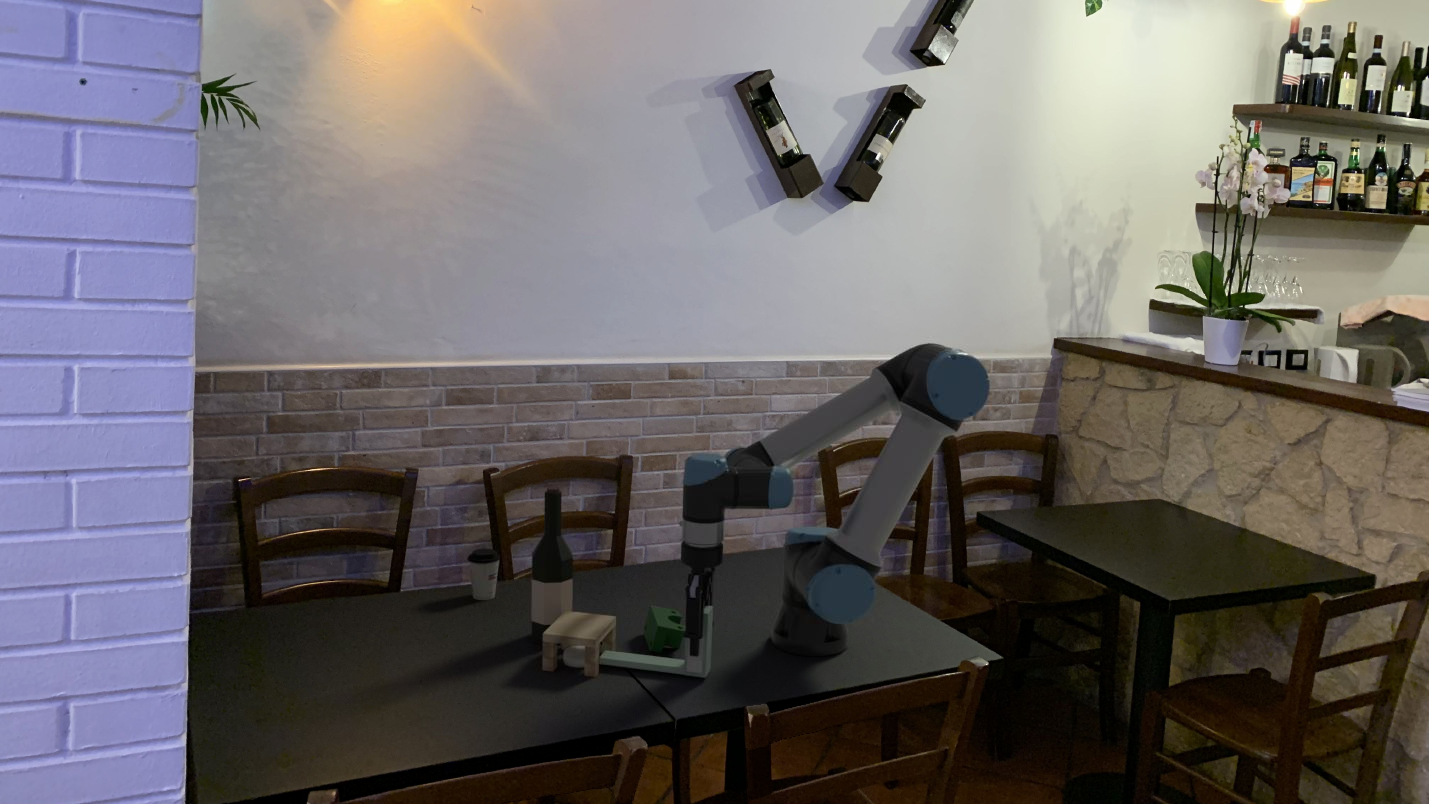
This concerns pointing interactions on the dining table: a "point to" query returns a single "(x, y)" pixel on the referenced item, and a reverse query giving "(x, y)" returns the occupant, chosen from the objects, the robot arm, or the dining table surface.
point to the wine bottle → (551, 570)
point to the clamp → (663, 629)
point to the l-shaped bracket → (665, 663)
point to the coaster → (575, 656)
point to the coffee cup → (483, 573)
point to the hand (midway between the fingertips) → (697, 665)
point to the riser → (579, 638)
